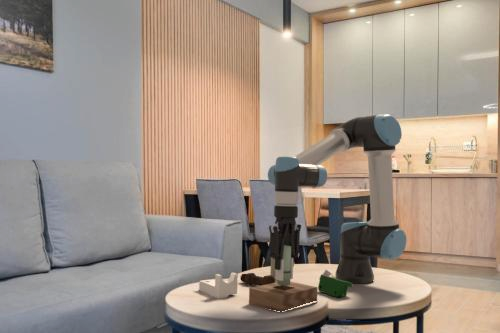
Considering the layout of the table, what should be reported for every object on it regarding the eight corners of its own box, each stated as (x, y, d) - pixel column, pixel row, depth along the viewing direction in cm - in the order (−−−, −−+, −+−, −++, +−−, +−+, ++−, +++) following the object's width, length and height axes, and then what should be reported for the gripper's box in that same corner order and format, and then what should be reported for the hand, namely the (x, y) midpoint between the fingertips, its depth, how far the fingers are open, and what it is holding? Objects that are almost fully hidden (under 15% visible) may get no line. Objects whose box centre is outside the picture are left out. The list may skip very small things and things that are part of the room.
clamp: (344, 308, 164) (357, 286, 163) (331, 306, 162) (343, 283, 160) (328, 288, 175) (339, 267, 173) (315, 285, 172) (326, 264, 170)
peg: (283, 282, 155) (284, 244, 155) (293, 284, 152) (294, 246, 152) (274, 283, 152) (275, 245, 152) (284, 286, 149) (285, 247, 149)
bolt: (244, 287, 182) (271, 293, 171) (235, 281, 179) (262, 288, 168) (250, 273, 184) (277, 278, 173) (241, 267, 181) (268, 272, 170)
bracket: (236, 296, 160) (237, 273, 161) (218, 299, 156) (219, 275, 156) (216, 288, 171) (217, 267, 171) (199, 291, 167) (199, 269, 167)
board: (285, 295, 163) (286, 280, 163) (317, 302, 154) (317, 287, 154) (248, 304, 150) (249, 288, 150) (280, 313, 141) (281, 295, 141)
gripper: (293, 204, 162) (291, 273, 161) (259, 204, 149) (257, 280, 149) (311, 205, 156) (309, 277, 156) (277, 206, 144) (275, 284, 143)
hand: (284, 278), depth 152 cm, fingers closed on peg, 4 cm apart
